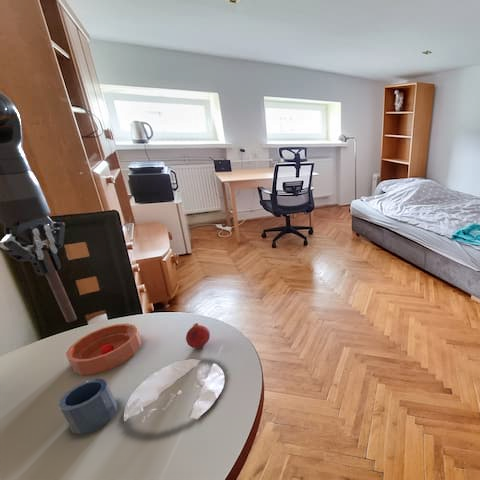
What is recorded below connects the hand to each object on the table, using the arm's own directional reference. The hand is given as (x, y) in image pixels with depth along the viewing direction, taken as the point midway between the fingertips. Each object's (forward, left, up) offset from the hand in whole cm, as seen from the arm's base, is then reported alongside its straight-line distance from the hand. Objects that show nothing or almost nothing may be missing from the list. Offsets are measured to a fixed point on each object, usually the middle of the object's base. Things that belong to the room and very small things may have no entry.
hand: (50, 271), depth 64 cm
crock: (+10, -15, -29) cm, 34 cm away
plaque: (+25, -11, -29) cm, 40 cm away
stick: (0, 0, -13) cm, 13 cm away
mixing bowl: (0, +5, -29) cm, 29 cm away
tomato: (0, +5, -27) cm, 27 cm away
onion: (+24, +5, -29) cm, 38 cm away
